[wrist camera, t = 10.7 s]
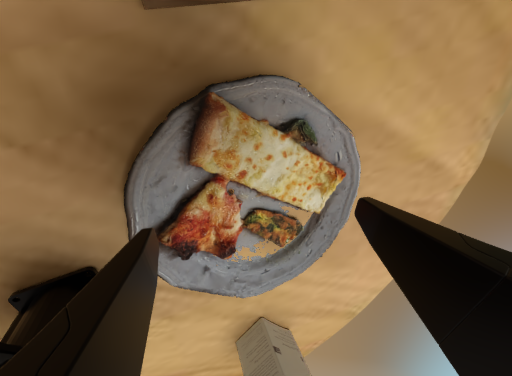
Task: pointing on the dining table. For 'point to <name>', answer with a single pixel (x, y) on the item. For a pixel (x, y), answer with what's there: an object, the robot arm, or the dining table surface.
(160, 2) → the plinth
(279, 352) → the skincare box
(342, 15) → the dining table surface
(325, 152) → the food plate
